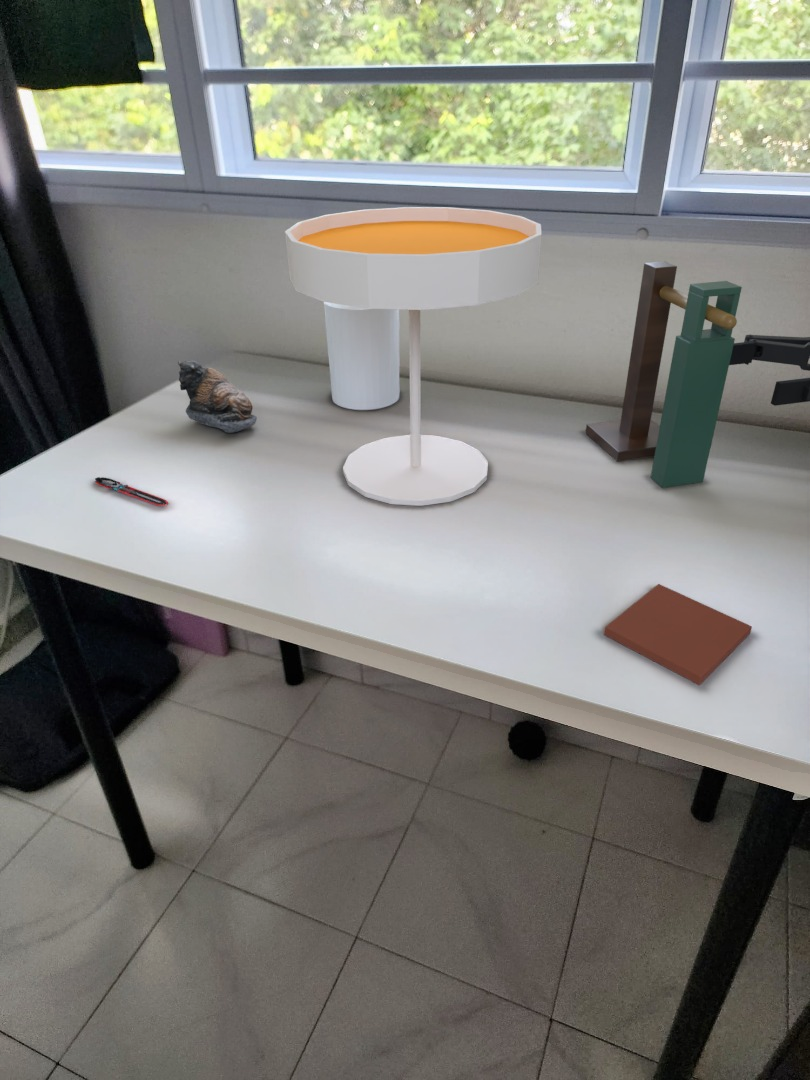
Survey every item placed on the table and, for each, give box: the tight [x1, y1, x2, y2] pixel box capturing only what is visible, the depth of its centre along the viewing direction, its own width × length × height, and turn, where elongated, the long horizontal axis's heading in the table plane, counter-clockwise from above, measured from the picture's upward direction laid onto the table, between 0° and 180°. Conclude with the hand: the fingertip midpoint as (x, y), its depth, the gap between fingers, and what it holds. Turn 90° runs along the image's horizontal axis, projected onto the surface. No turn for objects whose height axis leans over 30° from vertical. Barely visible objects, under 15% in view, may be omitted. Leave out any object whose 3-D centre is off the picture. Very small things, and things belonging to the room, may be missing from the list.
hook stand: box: [585, 260, 738, 462], centre depth 98 cm, size 22×10×25 cm, turn 14°
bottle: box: [323, 302, 400, 411], centre depth 119 cm, size 12×12×25 cm
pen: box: [94, 476, 169, 507], centre depth 98 cm, size 2×14×1 cm, turn 57°
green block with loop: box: [650, 280, 743, 489], centre depth 93 cm, size 3×6×25 cm, turn 104°
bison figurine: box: [177, 359, 258, 434], centre depth 114 cm, size 12×7×10 cm, turn 66°
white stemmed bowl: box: [284, 206, 543, 507], centre depth 95 cm, size 30×30×31 cm
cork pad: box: [603, 583, 753, 686], centre depth 72 cm, size 10×10×1 cm
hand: (739, 374), depth 93 cm, fingers open, 13 cm apart
